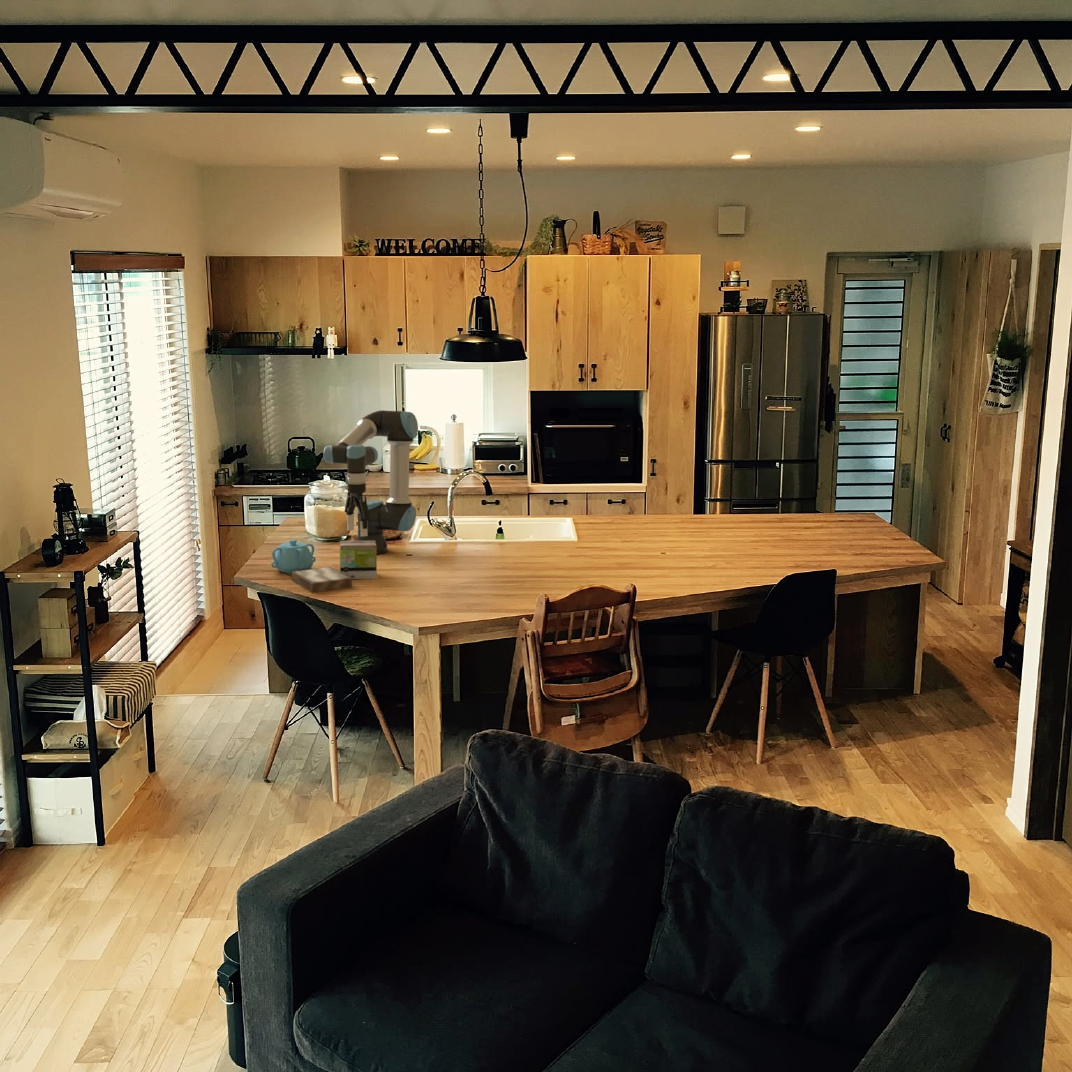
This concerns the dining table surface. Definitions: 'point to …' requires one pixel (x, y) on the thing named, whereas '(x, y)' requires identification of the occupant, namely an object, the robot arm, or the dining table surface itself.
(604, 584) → the dining table surface
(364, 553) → the tea box
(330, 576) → the tray
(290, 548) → the decorative pot
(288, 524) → the dining table surface
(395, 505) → the robot arm
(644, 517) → the dining table surface
